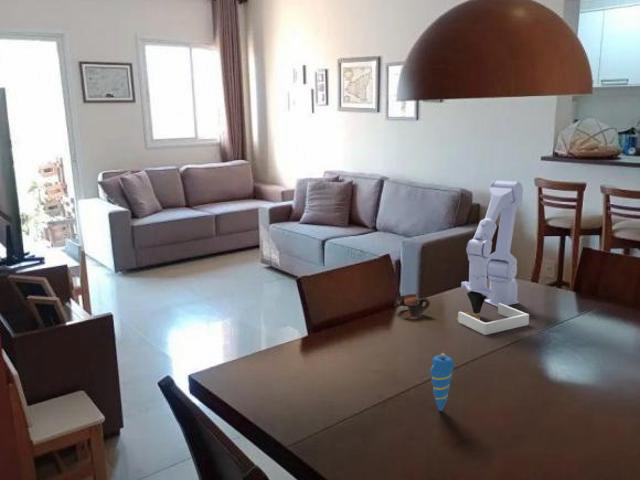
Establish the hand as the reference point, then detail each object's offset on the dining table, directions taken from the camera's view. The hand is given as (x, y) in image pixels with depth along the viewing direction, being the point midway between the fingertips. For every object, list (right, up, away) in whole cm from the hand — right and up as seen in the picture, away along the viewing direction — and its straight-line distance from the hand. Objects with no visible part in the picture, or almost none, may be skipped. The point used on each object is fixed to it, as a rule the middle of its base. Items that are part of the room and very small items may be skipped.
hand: (476, 312), depth 193 cm
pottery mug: (-21, -1, +4) cm, 22 cm away
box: (+3, -2, -7) cm, 8 cm away
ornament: (-25, -15, -60) cm, 67 cm away
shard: (-2, -3, -4) cm, 5 cm away
